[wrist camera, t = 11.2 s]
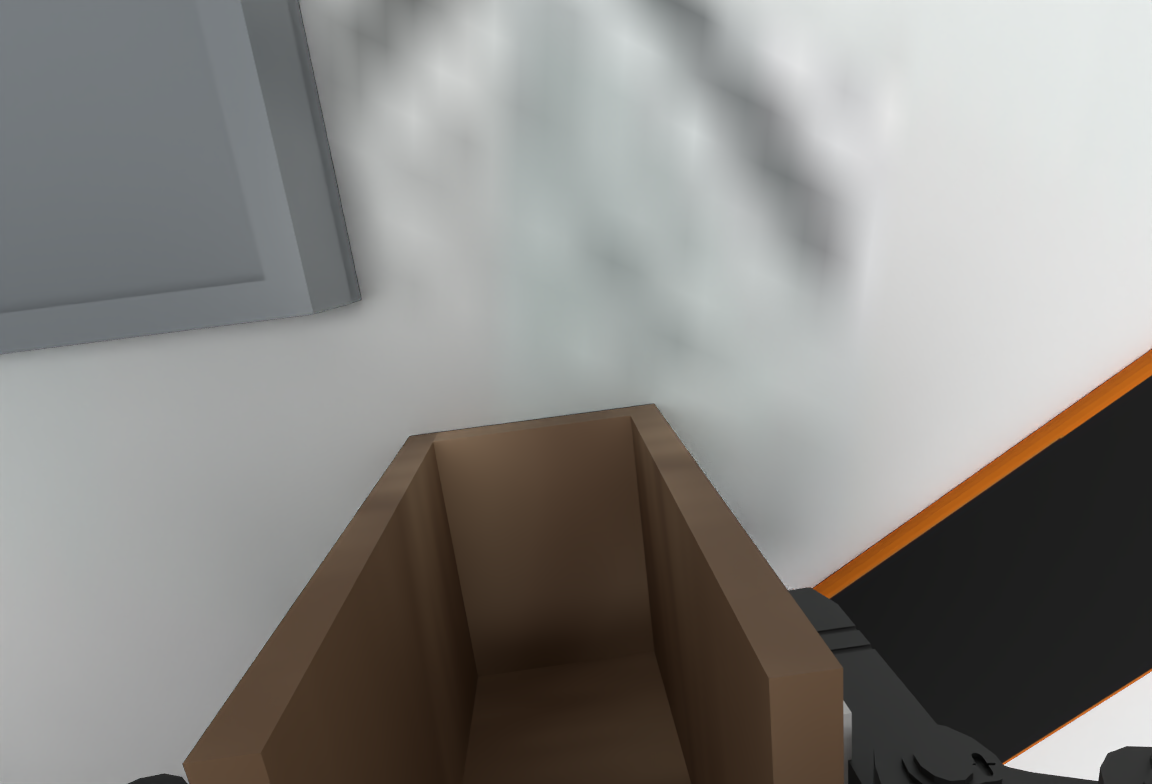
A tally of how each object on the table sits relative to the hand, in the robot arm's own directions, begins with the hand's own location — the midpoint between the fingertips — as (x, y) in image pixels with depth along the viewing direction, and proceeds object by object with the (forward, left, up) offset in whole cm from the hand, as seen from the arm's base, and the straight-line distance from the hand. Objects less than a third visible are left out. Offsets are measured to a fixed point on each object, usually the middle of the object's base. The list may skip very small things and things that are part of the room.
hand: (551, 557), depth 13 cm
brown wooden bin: (0, 0, 0) cm, 0 cm away
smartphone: (+13, -2, -1) cm, 13 cm away
